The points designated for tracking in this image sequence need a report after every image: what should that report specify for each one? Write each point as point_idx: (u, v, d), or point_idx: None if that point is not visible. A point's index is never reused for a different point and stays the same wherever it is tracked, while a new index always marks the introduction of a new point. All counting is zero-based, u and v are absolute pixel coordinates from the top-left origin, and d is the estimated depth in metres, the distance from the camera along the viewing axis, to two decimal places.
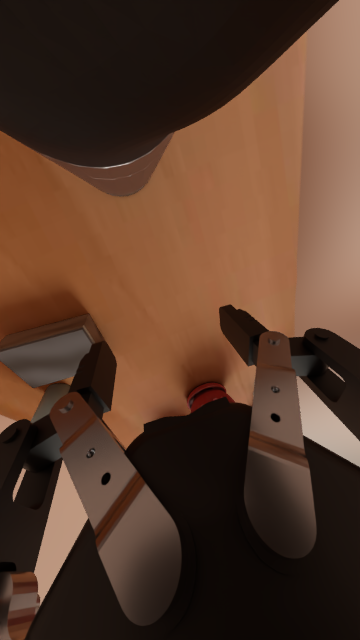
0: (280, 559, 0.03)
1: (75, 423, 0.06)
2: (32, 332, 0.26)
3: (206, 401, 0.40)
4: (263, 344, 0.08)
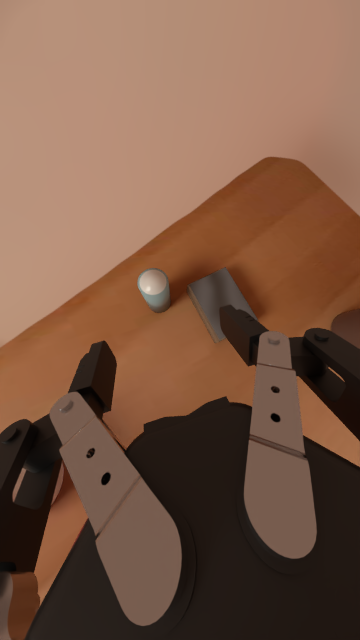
0: (280, 559, 0.03)
1: (75, 423, 0.06)
2: None
3: None
4: (263, 344, 0.08)
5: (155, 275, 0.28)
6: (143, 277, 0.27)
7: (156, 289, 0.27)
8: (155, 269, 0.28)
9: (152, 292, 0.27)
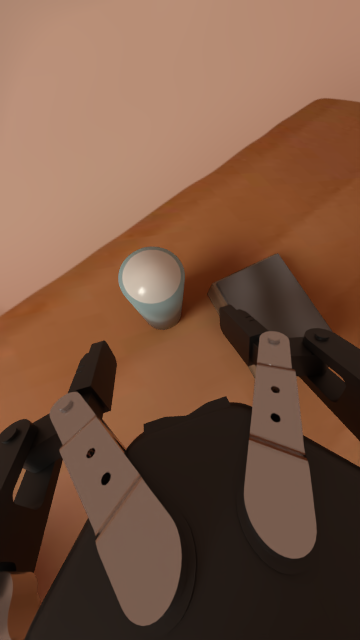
0: (280, 559, 0.03)
1: (75, 423, 0.06)
2: None
3: None
4: (263, 344, 0.08)
5: (156, 262, 0.13)
6: (131, 266, 0.13)
7: (159, 291, 0.12)
8: (157, 249, 0.13)
9: (150, 299, 0.12)
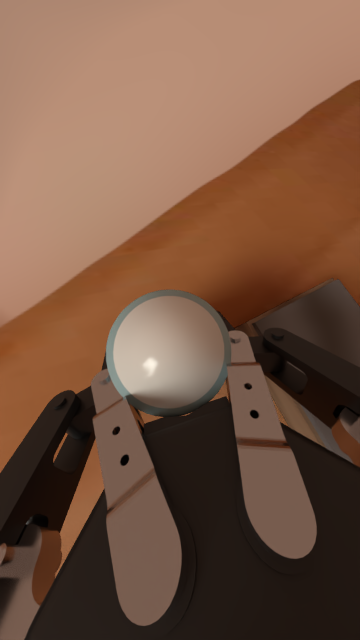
0: (290, 560, 0.03)
1: (117, 392, 0.07)
2: None
3: None
4: None
5: (177, 320, 0.07)
6: (131, 330, 0.07)
7: (184, 382, 0.06)
8: (177, 294, 0.07)
9: (168, 398, 0.06)
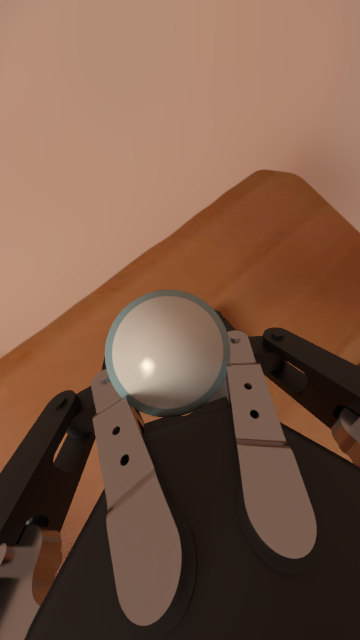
0: (291, 560, 0.03)
1: None
2: None
3: None
4: None
5: (176, 320, 0.07)
6: (130, 330, 0.07)
7: (183, 382, 0.06)
8: (176, 295, 0.07)
9: (167, 399, 0.06)
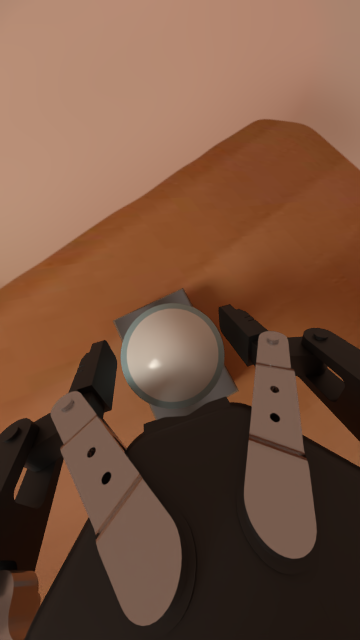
0: (280, 559, 0.03)
1: (76, 422, 0.06)
2: None
3: None
4: (262, 344, 0.08)
5: (179, 329, 0.08)
6: (141, 337, 0.08)
7: (185, 380, 0.08)
8: (179, 307, 0.09)
9: (172, 394, 0.08)
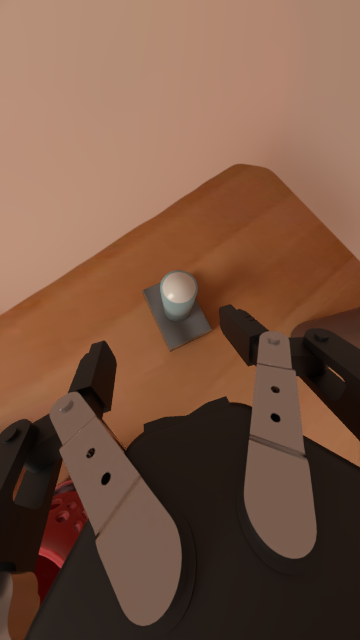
0: (280, 559, 0.03)
1: (75, 423, 0.06)
2: None
3: None
4: (263, 344, 0.08)
5: (181, 279, 0.22)
6: (167, 281, 0.22)
7: (183, 296, 0.22)
8: (181, 271, 0.23)
9: (178, 300, 0.22)
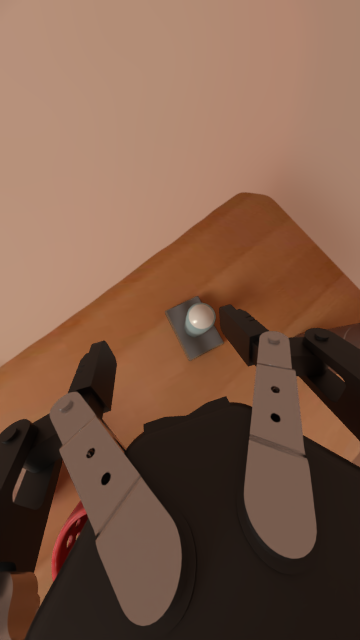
0: (280, 559, 0.03)
1: (75, 423, 0.06)
2: None
3: None
4: (263, 344, 0.08)
5: (202, 310, 0.29)
6: (192, 312, 0.29)
7: (205, 323, 0.29)
8: (202, 304, 0.30)
9: (201, 326, 0.29)
